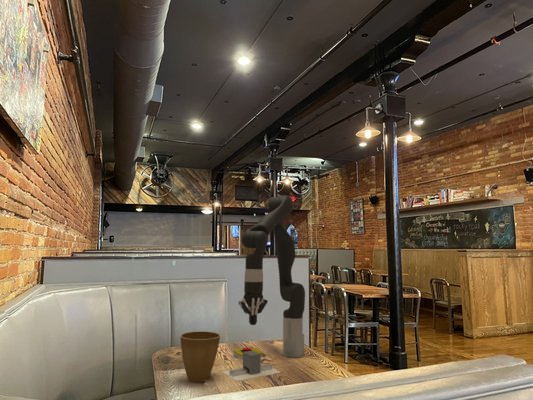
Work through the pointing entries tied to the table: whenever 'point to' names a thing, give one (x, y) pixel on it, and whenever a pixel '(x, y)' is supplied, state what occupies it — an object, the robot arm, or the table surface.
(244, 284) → the robot arm
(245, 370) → the rail
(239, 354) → the emergency button
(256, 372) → the block
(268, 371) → the mounting plate
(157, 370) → the table surface
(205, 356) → the plant pot
